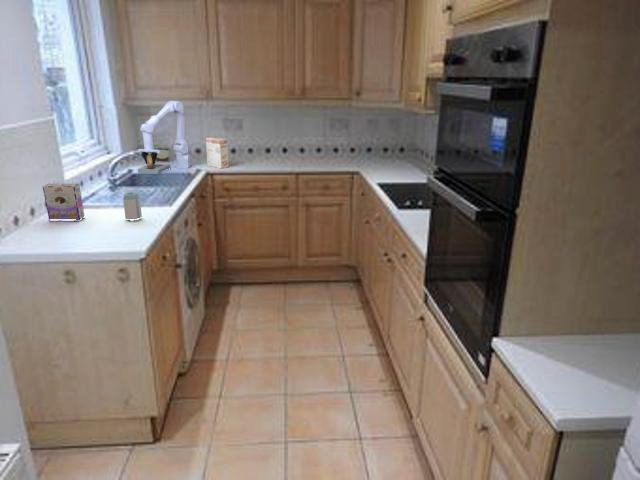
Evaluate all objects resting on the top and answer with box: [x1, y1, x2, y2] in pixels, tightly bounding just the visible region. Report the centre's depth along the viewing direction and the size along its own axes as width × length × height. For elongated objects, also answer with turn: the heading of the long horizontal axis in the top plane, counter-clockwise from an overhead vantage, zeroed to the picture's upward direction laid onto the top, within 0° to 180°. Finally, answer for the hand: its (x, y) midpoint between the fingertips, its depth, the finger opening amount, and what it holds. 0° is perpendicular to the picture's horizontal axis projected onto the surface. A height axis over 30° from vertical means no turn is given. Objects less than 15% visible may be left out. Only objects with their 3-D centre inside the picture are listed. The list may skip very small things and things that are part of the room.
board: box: [137, 163, 171, 175], centre depth 322 cm, size 14×18×2 cm
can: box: [122, 192, 143, 220], centre depth 219 cm, size 7×7×12 cm
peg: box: [146, 154, 154, 169], centre depth 317 cm, size 4×4×9 cm
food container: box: [153, 146, 171, 163], centre depth 353 cm, size 12×6×10 cm, turn 84°
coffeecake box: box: [205, 136, 229, 169], centre depth 335 cm, size 15×7×20 cm, turn 51°
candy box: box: [42, 182, 85, 220], centre depth 217 cm, size 14×6×16 cm, turn 92°
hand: (150, 163), depth 317 cm, fingers closed on peg, 4 cm apart
